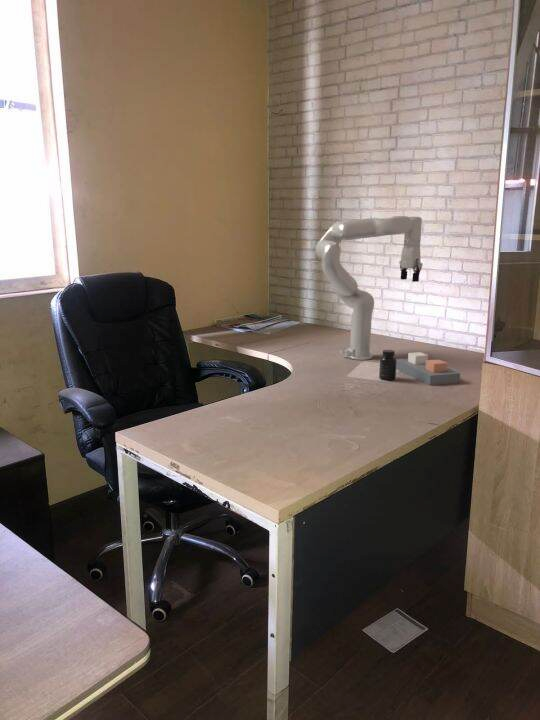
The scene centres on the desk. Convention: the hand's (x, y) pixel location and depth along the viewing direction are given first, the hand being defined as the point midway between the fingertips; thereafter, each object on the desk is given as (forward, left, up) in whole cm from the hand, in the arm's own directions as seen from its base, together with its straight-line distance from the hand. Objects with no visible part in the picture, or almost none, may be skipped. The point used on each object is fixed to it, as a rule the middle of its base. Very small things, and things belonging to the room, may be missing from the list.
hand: (409, 280), depth 275 cm
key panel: (-11, -36, -36) cm, 52 cm away
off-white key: (-11, -29, -34) cm, 46 cm away
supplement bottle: (-30, -37, -36) cm, 60 cm away
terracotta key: (-11, -43, -34) cm, 56 cm away
